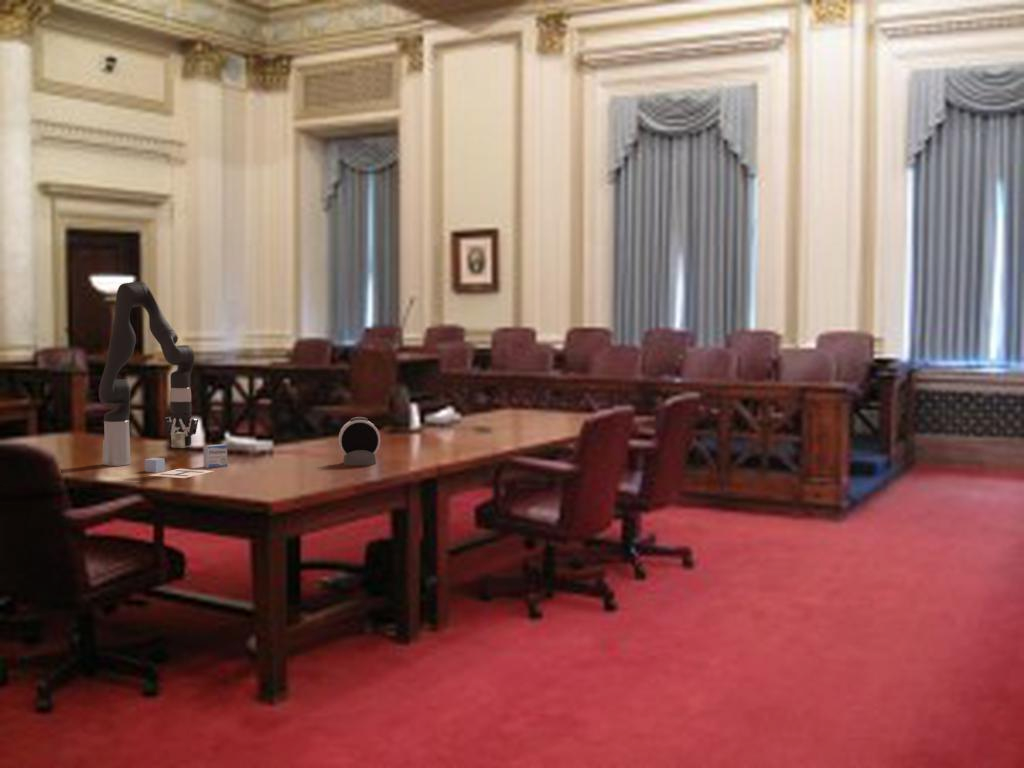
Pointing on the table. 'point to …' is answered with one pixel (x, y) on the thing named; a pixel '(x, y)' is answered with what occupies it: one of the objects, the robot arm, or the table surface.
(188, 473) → the letter sheet
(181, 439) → the block
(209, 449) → the medicine box
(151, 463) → the blue cube
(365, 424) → the alarm clock
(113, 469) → the table surface
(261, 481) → the table surface
